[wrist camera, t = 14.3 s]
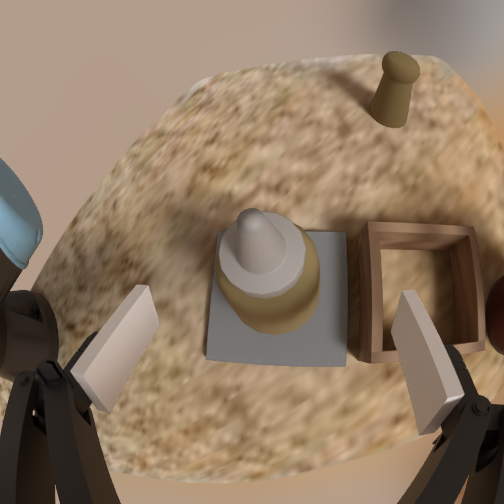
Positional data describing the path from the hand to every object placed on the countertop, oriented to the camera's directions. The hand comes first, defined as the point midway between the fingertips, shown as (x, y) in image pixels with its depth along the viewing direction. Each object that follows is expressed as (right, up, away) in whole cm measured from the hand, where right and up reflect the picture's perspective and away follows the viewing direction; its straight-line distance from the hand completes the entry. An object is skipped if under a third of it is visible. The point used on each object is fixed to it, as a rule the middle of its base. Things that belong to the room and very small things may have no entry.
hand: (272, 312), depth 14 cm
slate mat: (+2, -2, +15) cm, 16 cm away
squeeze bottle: (+2, -1, +15) cm, 15 cm away
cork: (+19, +24, +21) cm, 37 cm away
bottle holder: (+17, -2, +13) cm, 21 cm away
